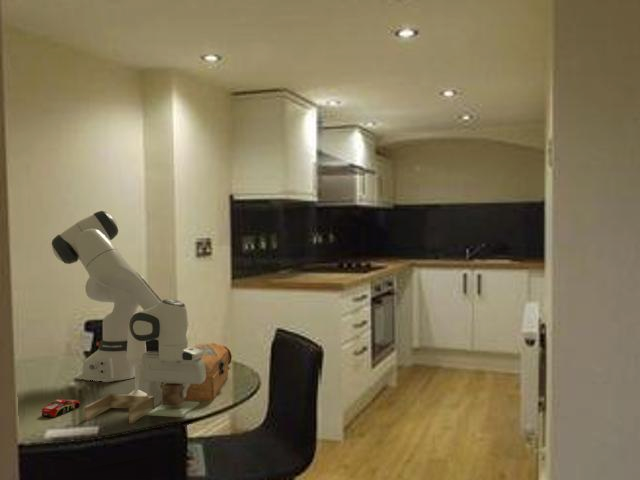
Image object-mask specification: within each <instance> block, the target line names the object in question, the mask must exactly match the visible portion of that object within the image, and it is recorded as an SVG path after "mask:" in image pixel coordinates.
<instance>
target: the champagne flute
mask: <svg viewBox="0 0 640 480" xmlns="http://www.w3.org/2000/svg"><path fill="white" fill-rule="evenodd" d="M146 343H147V341H139V340H136V339H135V338H134V337H133V336H132V334H131V332H130V328H129V330H128V342H127V353H126V359H127V361H128V362H129V363H130V364H131V365H133V366H134V367H135V377H134V390H132V391H131V392H130V393H128V394H127V395H143V396H148V393H147V392H145V391H142V390H140V389H139V388H140V383H139V381H140V379H139V378H140V377H139V376H140V375H139V367H140V366H141V365H143V363H142V356H143V354H144V353H146V352H147V344H146ZM145 355H147V354H145Z"/></svg>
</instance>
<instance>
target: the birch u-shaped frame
mask: <svg viewBox="0 0 640 480" xmlns="http://www.w3.org/2000/svg"><path fill="white" fill-rule="evenodd" d="M111 408H114V409H128V424H134V423H135V422H137V421H138V420H139V419H142V417H144V416H145V415H148V413H149V412H150V411H152V410H153V409H155V396H154V395H146V396H143V395H128V394H121V393H120V394H119V393H118V394H117V393H108V394H107V395H105V396H103V397H101V398H99V399H97V400H95V401H94V402H92V403H91V402H90V403H89V404H88V405H86V406H84V421H86V422H88V421H90V420H91V419H94V418H95V417H97V416H99V415H100V414H102V413H104V412H105V411H108V410H109V409H111Z"/></svg>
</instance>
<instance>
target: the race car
mask: <svg viewBox="0 0 640 480" xmlns="http://www.w3.org/2000/svg"><path fill="white" fill-rule="evenodd" d="M80 405H81V403H80V401H79V400H77V399H61V398H60V399H55V400H52V401H51V402H50V403H48V404H46V405H45V406H43V407H42V411H41V416H42V417H53V418H55V417H60V416H62V415H64V414H66V413H69V412H71V411H73V410H78V409H79V408H80Z"/></svg>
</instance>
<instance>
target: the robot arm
mask: <svg viewBox="0 0 640 480" xmlns="http://www.w3.org/2000/svg"><path fill="white" fill-rule="evenodd" d="M118 228H119V227H118V223H117V221H116V219H115V218H114V217H113V216H112V215H111V214H110V213H108V212H107V211H104V210H100V211H97V212H94V213H93V214H91V215H89V216H87V217H85V218H82V219H81V220H79V221H76V223H75V224H73V225H71V226H70V227H68V228H67V229H66V230H64V231H63V232H62V233H60V234H57V235H55V237H54V238H53V239H52V240H51V246H52V252H53V254H54V256H55V257H56V258H57V259H58V260H59V261H60V262H63V263H64V264H66V265H67V264H68V265H70V264H74V263H77V262H78V260H79V261H80V263H81V264H82V267H84V268H85V270H86V272H87V274H88V276H89V277H88V278H87V280H86V283H85V285H84V286H85V293H86V295H87V297H88V298H89V299H90V300H93V301H96V302H100V303H110V304H112V303H113V308H112V311H111V312H110V313H109V314H106V316H105V317H103V320H102V339H101V340H99V341H97V342H96V346H98V349H97V350H96V351H94V353H92V354H91V355H89V356H88V357H87V358H86V359H85V360H84V362H83V364H82V370H81V372H79V373H77V374H76V375H75V379H76V380H82V379H83V380H84V381H90V380H91V381H92V380H93V381H92V382H99V381H102V382H101V383H110V382H114V381H115V382H116V381H123V380H125V381H126V380H129V379H133V378H135V367H134V366H133V365H131V364H130V363H129V362H128V361H127V359H126V353H127V342H128V330H129V328H130V332H131V334H132V336H133V337H134V338H135V339H136V340H139V341H145V342H149V341H152V340H157V341H158V351H150V350H148V351H147V350H146V353H144V354H143V356H142V364H141V365H142V366H141V372H140V373H141V375H140V376H141V380H142V381H143V382H150V383H151V382H152V383H156V386H157V389H158V390H159V391H160V397H162V386H163V385H164V384H165V383H183V387H185V388H184V390H182V391H181V392H180V397H186V396H187V390H188V388H189V386H190V384H201V383H203V382H204V381H205V379H206V368H205V363H204V360H203V359H202V358H201V357H202V356H203V351H202V350H200V349H197V348H194V346H191V345H189V344H188V343H189V340H188V338H187V337H188V336H187V333H188V329H189V328H188V327H189V325H188V321H189V320H188V311H187V307H186V305H185V303H184V302H182V301H180V300H177V299H161V298H160V297H159V296H158V295H157V293H156V292H155V291H154V290H153V289H152V287H151V286H150V282H149V281H148V279H147V278H146V277H145V276H142V275H140V274H139V273H138V272H137V271H136V270H135V269H134V268H133V267H132V266H131V265H130V264H129V263H128V262H127V261H126V260H125V258H124V257H123V256H122V254H121V253H120V252H119V250H118V249H117V248H116V246H115V244H113V242H112V240H113V239H115V237H117V235H118V234H119V229H118ZM139 307H141V309H142V310H140V311H138V312H137V310H138V308H139ZM145 354H147V355H145ZM83 380H82V381H83Z"/></svg>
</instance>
